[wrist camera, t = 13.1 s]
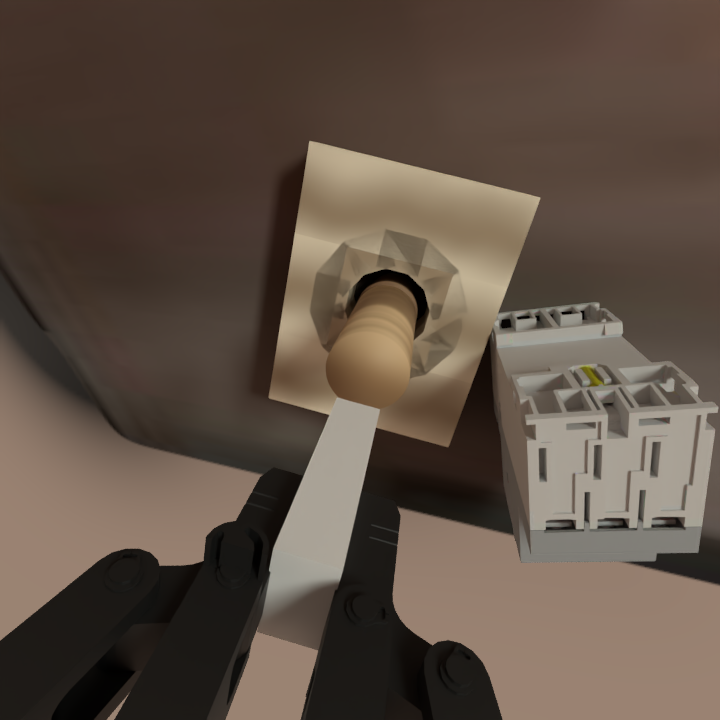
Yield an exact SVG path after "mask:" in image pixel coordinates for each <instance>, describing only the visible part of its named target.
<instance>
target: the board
mask: <svg viewBox="0 0 720 720" xmlns="http://www.w3.org/2000/svg"><path fill="white" fill-rule="evenodd" d="M539 201H540V198H539V197H536V196H532V195H529V194H525V193H521V192H517V191H513V190H509V189H505V188H501V187H497V186H492V185H488V184H484V183H480V182H476V181H472V180H468V179H464V178H460V177H456V176H452V175H448V174H444V173H440V172H436V171H432V170H428V169H424V168H420V167H416V166H411V165H407V164H403V163H399V162H395V161H391V160H387V159H383V158H379V157H375V156H371V155H367V154H363V153H359V152H355V151H351V150H347V149H343V148H339V147H334V146H330V145H326V144H322V143H317V142H312V141H309V148H308V154H307V160H306V166H305V173H304V179H303V185H302V191H301V198H300V204H299V210H298V217H297V223H296V229H295V235H294V242H293V248H292V254H291V260H290V267H289V273H288V279H287V285H286V292H285V298H284V304H283V310H282V317H281V323H280V329H279V336H278V342H277V348H276V354H275V361H274V367H273V373H272V379H271V386H270V392H269V398H270V399H273V400H277V401H281V402H284V403H288V404H292V405H295V406H299V407H303V408H306V409H310V410H314V411H317V412H321V413H325V414H328V415H330V413H331V410H332V408H333V406H334V403H335V401H336V399H337V398H339V397H338V396H337V395H336V394H335V393H334V392H333V390H332V389H331V387H330V385H329V383H328V380H327V377H326V361H327V357H328V355H329V353H330V351H331V349H332V347H333V345H334V344H335V342H336V340H337V338H338V336H339V335H340V333H341V331H342V329H343V327H344V326H345V324H346V322H347V320H348V318H349V317H350V315H351V313H352V311H353V309H354V308H355V306H356V304H357V303H356V300H355V297H354V294H355V290H356V285H357V282H358V281H359V280H360V279H361V278H362V277H363V276H364V275H365V274H369V273H372V272H376V271H379V270H383V269H389V270H393V271H397V272H401V273H405V274H408V275H409V276H410V277H411V278H412V279H413V280H414V281H415V282H416V283H417V284H418V285H419V286H420V287H421V288H422V289H423V290H424V291H425V295H426V299H427V303H428V304H427V308H426V311H425V314H424V315H423V316H422V317H421V318H420V319H419V320H418V321H417V322H416V324H415V333H414V342H413V352H412V361H411V370H410V379H409V384H408V386H407V389H406V390H405V392H404V394H403V395H402V396H401V397H400V398H399V399H398V400H397V401H396V402H394V403H393V404H391V405H389V406H387V407H385V408H381V409H380V412H379V416H378V421H377V425H376V428H379V429H383V430H387V431H390V432H394V433H397V434H401V435H405V436H408V437H412V438H416V439H419V440H423V441H427V442H430V443H434V444H438V445H441V446H445V447H449V445H450V442H451V439H452V436H453V434H454V431H455V428H456V426H457V423H458V420H459V418H460V415H461V412H462V409H463V407H464V404H465V401H466V399H467V396H468V393H469V390H470V388H471V385H472V382H473V380H474V377H475V374H476V371H477V369H478V366H479V363H480V361H481V358H482V355H483V353H484V350H485V347H486V344H487V342H488V339H489V336H490V334H491V331H492V328H493V325H494V323H495V320H496V317H497V315H498V312H499V309H500V306H501V304H502V301H503V298H504V296H505V293H506V290H507V287H508V285H509V282H510V279H511V277H512V274H513V271H514V269H515V266H516V263H517V260H518V258H519V255H520V252H521V250H522V247H523V244H524V241H525V239H526V236H527V233H528V231H529V228H530V225H531V222H532V220H533V217H534V214H535V212H536V209H537V206H538V204H539Z"/></svg>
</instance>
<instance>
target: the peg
mask: <svg viewBox="0 0 720 720" xmlns="http://www.w3.org/2000/svg"><path fill="white" fill-rule="evenodd" d="M417 311H418V308H417V302H416V299H415V297H414V290H413V287H412V285H411V283H410V282H409V281H408V280H407V279H406V278H405V277H403V276H401V275H399V274H394V273H389V274H384V275H382V276H380V277H378V278H377V279H376V280H375V281H374V282H373V284H371V285H369V286H368V287H367V288H366V289H365V290H364V291H363V292H362V294H361V295H360V297H359V299H358V301H357V304H356V306H355V308H354V309H353V311H352V313H351V315H350V317H349V318H348V320H347V322H346V324H345V326H344V327H343V329H342V331H341V333H340V335H339V336H338V338H337V340H336V342H335V344H334V345H333V347H332V349H331V351H330V353H329V355H328V357H327V361H326V377H327V380H328V383H329V385H330V387H331V389H332V390H333V392H334V393H335V394H336V395H337V396H338V397H339V398H341V399H345V400H348V401H352V402H356V403H359V404H363V405H366V406H370V407H374V408H377V409H381V408H385V407H387V406H389V405H391V404H393V403H394V402H396V401H397V400H398V399H399V398H400V397H401V396H402V395H403V394H404V392H405V390H406V389H407V386H408V384H409V379H410V370H411V361H412V352H413V342H414V333H415V324H416V319H417Z"/></svg>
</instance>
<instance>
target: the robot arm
mask: <svg viewBox="0 0 720 720" xmlns="http://www.w3.org/2000/svg"><path fill="white" fill-rule="evenodd" d="M379 412H380V409H377V408H374V407H370V406H366V405H363V404H359V403H356V402H352V401H348V400H345V399H341V398H337V399H336V401H335V403H334V406H333V408H332V410H331V413H330V415H329V417H328V420H327V422H326V425H325V427H324V429H323V432H322V434H321V436H320V439H319V441H318V444H317V446H316V448H315V451H314V453H313V455H312V458H311V460H310V463H309V465H308V467H307V470H306V472H305V474H304V476H302V475H298V474H295V473H291V472H288V471H284V470H281V469H277V468H272V469H271V470H269V471H268V472H267V473H265V474H264V475H262V476H261V477H260V479H259V480H258V482H257V484H256V486H255V487H254V489H253V492H252V493H251V495H250V496H249V498H248V500H247V502H246V504H245V505H244V507H243V509H242V511H241V513H240V514H239V516H238V518H237V520H236V521H233V522H227V523H224V524H222V525H220V526H218V527H216V528H214V529H213V530H212V531H211V532H210V533H209V534H208V535H207V537H206V543H205V553H204V561H202V562H199V563H196V564H193V565H184V566H159V563H158V560H157V559H156V558H155V557H154V556H153V555H152V554H151V553H150V552H147V551H144V550H141V549H124V550H120V551H116V552H113V553H111V554H109V555H107V556H106V557H104V558H102V559H101V560H99V561H98V562H97V563H95V564H94V565H93V566H92V567H91V568H89V569H88V570H87V571H86V572H84V573H83V574H82V575H81V576H79V577H78V578H77V579H76V580H75V581H73V582H72V583H71V584H70V585H68V586H67V587H66V588H65V589H63V590H62V591H61V592H60V593H59V594H57V595H56V596H55V597H54V598H52V599H51V600H50V601H49V602H47V603H46V604H45V605H44V606H43V607H41V608H40V609H39V610H38V611H36V612H35V613H34V614H33V615H31V617H29V618H28V619H26V620H25V621H24V622H23V623H22V624H20V625H19V626H18V627H17V628H15V629H14V630H13V631H12V632H10V633H9V634H8V635H7V636H6V637H4V638H3V639H2V640H1V641H0V720H107V718H108V717H109V716H110V715H111V714H112V712H113V711H114V710H115V709H116V708H117V706H118V705H119V704H120V703H121V702H122V701H123V700H124V698H125V697H126V696H127V695H128V694H129V695H128V697H127V699H126V700H125V702H124V704H123V706H122V708H121V709H120V711H119V712H118V714H117V716H116V718H115V719H114V720H225V719H226V716H227V714H228V711H229V709H230V706H231V703H232V701H233V698H234V695H235V693H236V690H237V687H238V685H239V682H240V679H241V677H242V674H243V671H244V669H245V666H246V663H247V661H248V658H249V653H250V647H251V643H252V640H253V638H254V635H255V633H256V630H257V628H258V630H257V632H260V633H263V634H266V635H269V636H273V637H276V638H279V639H283V640H286V641H289V642H292V643H296V644H299V645H302V646H306V647H309V648H312V649H315V650H318V655H317V659H316V662H315V666H314V669H313V673H312V676H311V680H310V683H309V686H308V690H307V693H306V700H305V704H304V709H303V713H302V717H301V720H502V716H501V713H500V710H499V707H498V703H497V700H496V697H495V694H494V690H493V687H492V684H491V681H490V677H489V675H488V673H487V671H486V669H485V666H484V665H483V663H482V661H481V660H480V659H479V658H478V657H477V656H476V654H475V653H474V652H473V651H472V650H470V649H469V648H467V647H466V646H464V645H462V644H461V643H457V642H453V641H449V640H447V641H441V642H437V643H436V644H434V645H433V646H432V645H431V644H429V643H428V642H426V641H425V640H423V639H422V638H420V637H419V636H417V635H416V634H414V633H413V632H412V631H411V630H410V629H408V628H407V627H406V626H405V625H404V624H403V622H402V621H401V620H400V619H399V617H398V615H397V613H396V611H395V608H394V605H393V596H392V593H393V583H394V573H395V564H396V554H397V544H398V533H399V525H400V514H399V511H398V508H397V506H396V503H395V501H394V500H390V499H387V498H383V497H380V496H376V495H373V494H369V493H366V492H362V491H361V490H362V486H363V481H364V477H365V473H366V468H367V464H368V460H369V455H370V451H371V447H372V442H373V438H374V434H375V429H376V425H377V421H378V416H379ZM130 691H131V692H130ZM129 692H130V693H129Z"/></svg>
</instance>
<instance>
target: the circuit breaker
mask: <svg viewBox="0 0 720 720" xmlns="http://www.w3.org/2000/svg"><path fill="white" fill-rule="evenodd" d="M566 311H572V314H566V315H562V313H561V312H566ZM580 311H584V320H582V313H581V312H580ZM550 314H553V318H552V317H551V316H550ZM539 315H540V321H536V317H535V316H539ZM520 316H530V318H529V319H520V320H518V319H517V317H520ZM502 319H510V320H511V328H503V329H502V327H501V322H502ZM622 334H623V326H622V322H621V321H620V320H619V319H618V318H617V317H615V316H614V315H613V314H612V313H610V312H609V311H608V310H607V309H606V308H602V309H599V303H598V302H592V303H583V304H575V305H566V306H557V307H548V308H539V309H530V310H521V311H512V312H503V313H498V315H497V317H496V320H495V323H494V325H493V328H492V331H491V334H490V351H491V367H492V383H493V398H494V412H495V416H496V420H497V423H499V432H500V436H501V450H502V467H503V483H504V490H505V494H506V499H507V503H508V507H509V512H510V516H511V521H512V525H513V532H514V537H515V541H516V543H517V548H518V552H519V556H520V561H521V563H531V562H606V561H607V562H608V561H656V553H698V549H699V542H700V535H701V528H702V527H701V526H702V521H703V514H704V507H705V500H706V492H707V485H708V478H709V471H710V464H711V456H712V449H713V442H714V435H715V429H714V428H713V427H712V426H711V425H710V424H709V423H708V422H706V418H707V413H718V406H717V405H716V404H715V403H714V402H702V401H701V400H700V399H699V398H698V388H699V386H698V385H697V384H696V383H695V382H694V381H693V380H692V379H691V378H690V377H689V376H687V375H686V374H685V373H684V372H683V371H681V370H680V369H679V368H678V367H676V366H675V365H674V364H673V363H672V362H670V361H665V362H654V363H651V362H650V361H649V360H648V359H647V358H645V357H644V356H643V355H642V354H641V353H640V352H639V351H638V350H637V349H635V348H634V347H633V346H632V345H631V344H630V343H629V342H628V341H626V340H625V339H624V338H623V337H622ZM674 380H675V381H676V384H675V391H673V389H674Z"/></svg>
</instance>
